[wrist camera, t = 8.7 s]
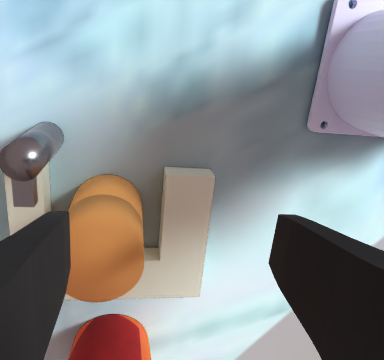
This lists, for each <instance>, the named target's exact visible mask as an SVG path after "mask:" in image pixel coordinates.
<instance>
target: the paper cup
mask: <svg viewBox="0 0 384 360" xmlns="http://www.w3.org/2000/svg"><path fill="white" fill-rule="evenodd" d="M68 360H151V355H150V348H149V341H148V336H147V333H146V330H145V328H144V327H143V326H142V324H141V323H139V322H138V321H137V320H135V319H134V318H132V317H129V316H126V315H121V314H107V315H102V316H99V317H96V318H94V319H92V320H90V321H88V322H87V323H86V324H84V325H83V326H82V327H81V329H80V330H79V331H78V333H77V335H76V338H75V340H74V343H73V346H72V349H71V352H70V355H69V358H68Z"/></svg>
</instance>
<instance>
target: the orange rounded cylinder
mask: <svg viewBox="0 0 384 360" xmlns="http://www.w3.org/2000/svg"><path fill="white" fill-rule="evenodd" d="M67 212H69V217H70V254H71V268H70V274H69V279H68V284H67V289H66V294H67V295H69V296H71V297H73V298H75V299H78V300H82V301H87V302H105V301H110V300H113V299H116V298H118V297H121V296H123V295H124V294H126V293H127V292H129V291H130V290H131V289H132V288H133V287H134V286H135V285H136V284H137V283H138V281H139V279H140V278H141V276H142V273H143V269H144V241H143V215H142V200H141V197H140V194H139V192H138V190H137V189H136V188H135V186H134V185H133V184H132V183H130V182H129V181H128V180H126V179H124V178H122V177H119V176H115V175H98V176H95V177H92V178H90V179H88V180H87V181H85V182H84V183H83V184H82V185H81V186H80V187H79V188H78V190H77V191H76V193H75V195H74V198H73V200H72V202H71V204H70V207H69V209H68V211H67Z"/></svg>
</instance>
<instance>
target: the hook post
mask: <svg viewBox="0 0 384 360" xmlns="http://www.w3.org/2000/svg"><path fill="white" fill-rule="evenodd" d="M63 141H64V135H63V132H62V130H61V129H60V128H59V127H58V126H57V125H55V124H54V123H51V122H41V123H39V124H37V125H35V126H34V127H33V128H31V129H30V130H28V131H27V132H26V133H24V134H23V135H21V136H20V137H19V138H17V139H16V140H14V141H13V142H12V143H10V144H9V145H7V146H6V147H5V148H3V150H2V151H1V152H0V168H1V170H2V171H3V173H4V174H5V175H6V176H8V177H9V178H11V183H12V194H13V205H14V207H35V205H36V204H37V202H38V191H37V175H38V174H39V173H40V172H41V171H42V169H43V168H44V167H45V166H46V164H47V163H48V162H49V161H50V160H51V158H52V157H53V156H54V155H55V153H56V152H57V151H58V150H59V148H60V147H61V146H62V144H63Z"/></svg>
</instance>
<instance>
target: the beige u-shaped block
mask: <svg viewBox="0 0 384 360" xmlns="http://www.w3.org/2000/svg"><path fill="white" fill-rule="evenodd" d="M4 181H5V191H6V201H7V211H8V222H9V232H10V236H11V235H12V234H14V233H15V232H17V231H19V230H20V229H22V228H23V227H25V226H26V225H28V224H29V223H31V222H33V221H34V220H36V219H37V218H39V217H40V216H42V215H43V214H45V213H47V212H49V211H51V193H50V172H49V162H48V163H47V164H46V166H45V167H44V168H43V169H42V171H41V172H40V173H39V174H38V175H37V191H38V202H37V204H36V205H35V207H14V205H13V194H12V183H11V178H9V177H8V176H6V175H5V174H4ZM214 184H215V176H214V174H213V173H212V171H211V169H203V168H182V167H165V168H164V181H163V195H162V208H161V221H160V235H159V248H144V269H143V273H142V276H141V278H140V279H139V281H138V283H137V284H136V285H135V286H134V287H133V288H132V289H131V290H130V291H129V292H127V293H126V294H124V295H123V296H121V297H118V298H116V299H134V298H174V297H200V291H201V283H202V276H203V268H204V260H205V253H206V245H207V238H208V230H209V222H210V215H211V207H212V199H213V192H214ZM64 300H78V299H75V298H73V297H71V296H69V295H67V294H65V297H64Z"/></svg>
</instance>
